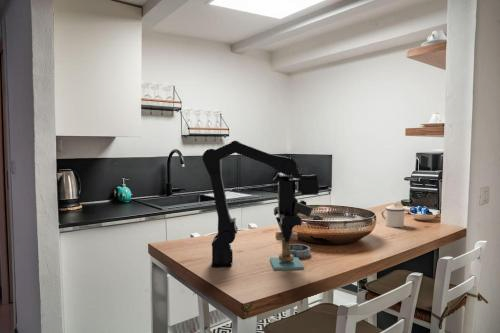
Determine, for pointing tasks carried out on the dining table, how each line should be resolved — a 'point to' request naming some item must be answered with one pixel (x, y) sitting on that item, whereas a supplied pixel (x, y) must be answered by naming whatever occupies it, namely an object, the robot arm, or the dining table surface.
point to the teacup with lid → (394, 215)
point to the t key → (286, 246)
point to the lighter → (316, 217)
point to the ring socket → (300, 250)
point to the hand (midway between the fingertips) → (286, 240)
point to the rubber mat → (286, 264)
